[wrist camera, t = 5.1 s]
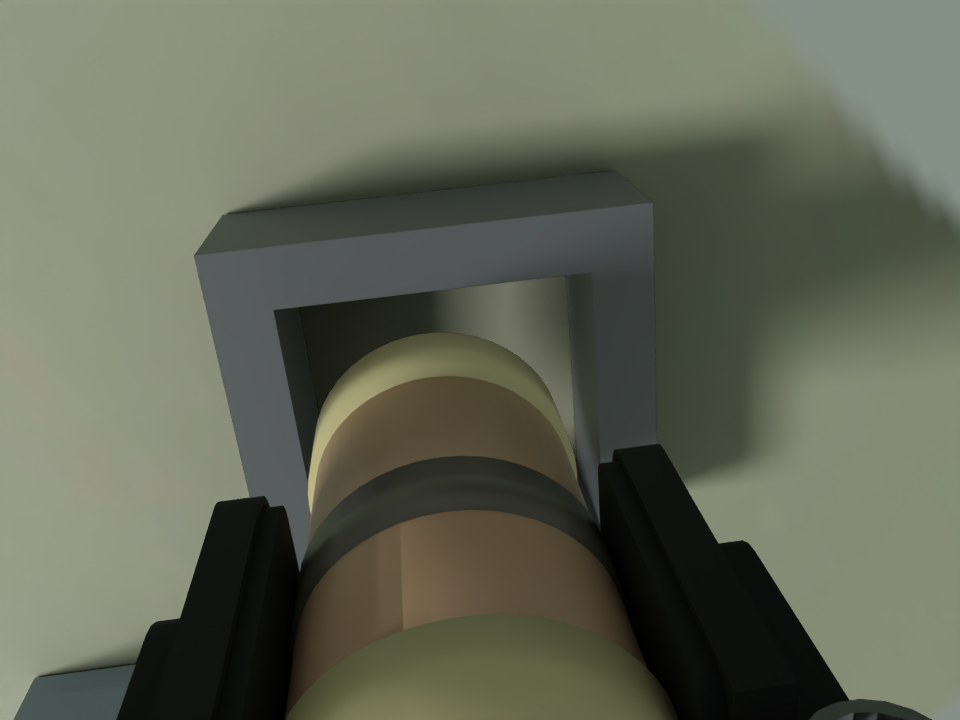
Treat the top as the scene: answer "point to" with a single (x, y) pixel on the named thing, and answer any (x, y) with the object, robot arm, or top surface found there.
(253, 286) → the fuse holder
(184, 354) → the top surface
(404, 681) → the cylinder
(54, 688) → the parts tray
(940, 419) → the top surface
